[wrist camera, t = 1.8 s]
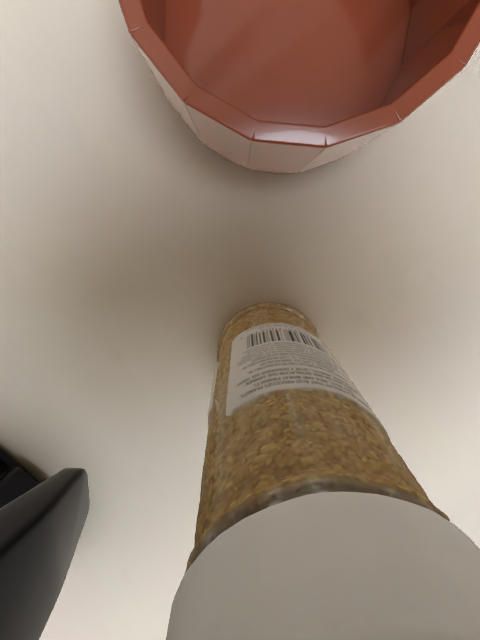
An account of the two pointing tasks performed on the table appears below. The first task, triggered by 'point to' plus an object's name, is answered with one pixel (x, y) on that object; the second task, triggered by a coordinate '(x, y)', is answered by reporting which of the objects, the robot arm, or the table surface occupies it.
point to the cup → (300, 70)
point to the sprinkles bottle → (313, 508)
